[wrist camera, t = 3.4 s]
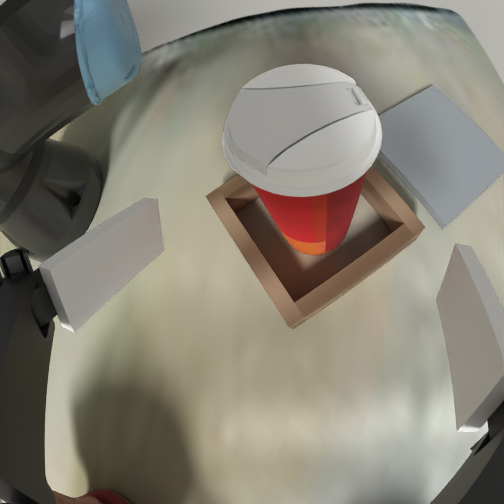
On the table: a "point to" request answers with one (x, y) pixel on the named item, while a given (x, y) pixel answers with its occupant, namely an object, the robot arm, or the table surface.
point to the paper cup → (304, 149)
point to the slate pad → (439, 153)
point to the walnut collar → (295, 313)
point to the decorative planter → (92, 498)
